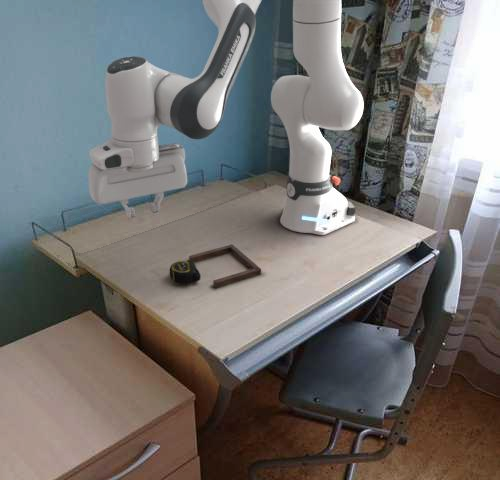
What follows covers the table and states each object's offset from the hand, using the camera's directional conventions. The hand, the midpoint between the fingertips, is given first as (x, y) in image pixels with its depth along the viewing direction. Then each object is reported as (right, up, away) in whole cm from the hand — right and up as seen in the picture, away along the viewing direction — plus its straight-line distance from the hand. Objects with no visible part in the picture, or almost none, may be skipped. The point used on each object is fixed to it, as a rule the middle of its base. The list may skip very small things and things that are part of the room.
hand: (143, 214), depth 109 cm
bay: (+16, -10, +19) cm, 27 cm away
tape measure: (+7, -13, +15) cm, 21 cm away
